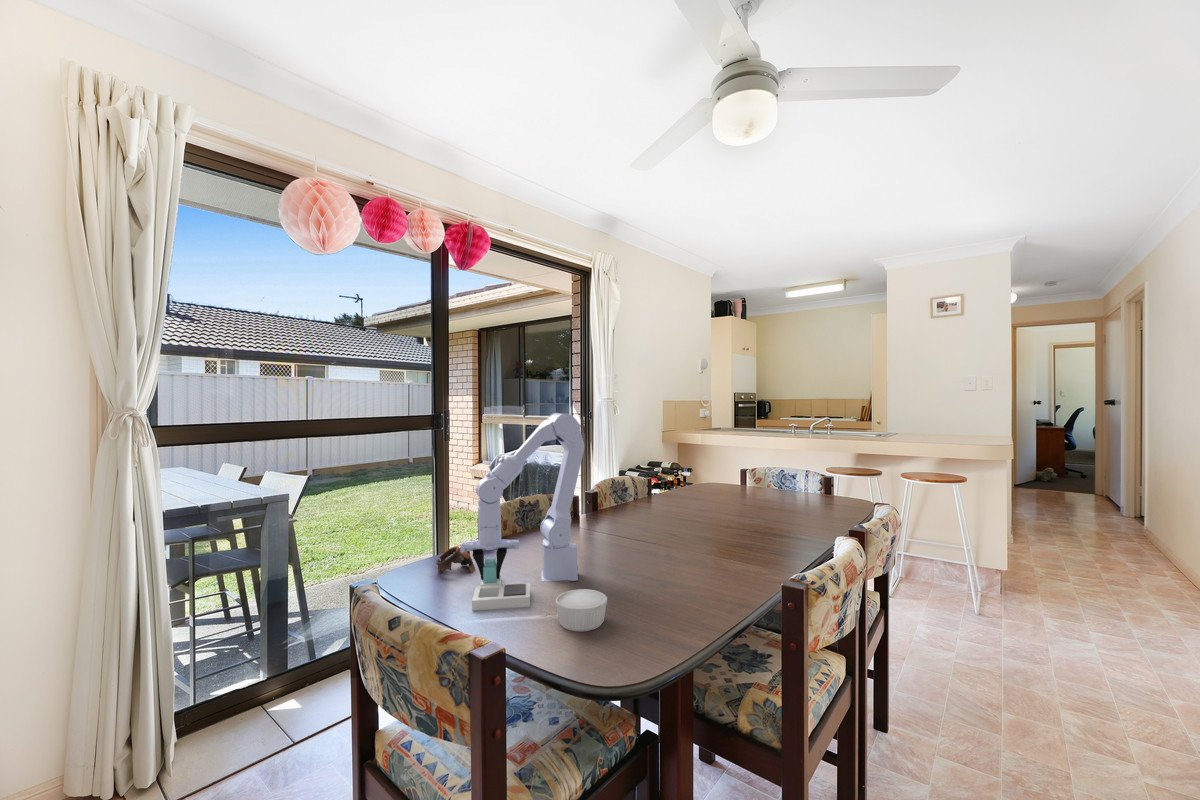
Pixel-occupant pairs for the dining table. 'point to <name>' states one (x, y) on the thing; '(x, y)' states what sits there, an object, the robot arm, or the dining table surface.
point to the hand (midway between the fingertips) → (490, 578)
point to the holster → (492, 583)
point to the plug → (490, 570)
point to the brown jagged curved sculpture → (455, 559)
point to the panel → (501, 596)
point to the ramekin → (581, 609)
